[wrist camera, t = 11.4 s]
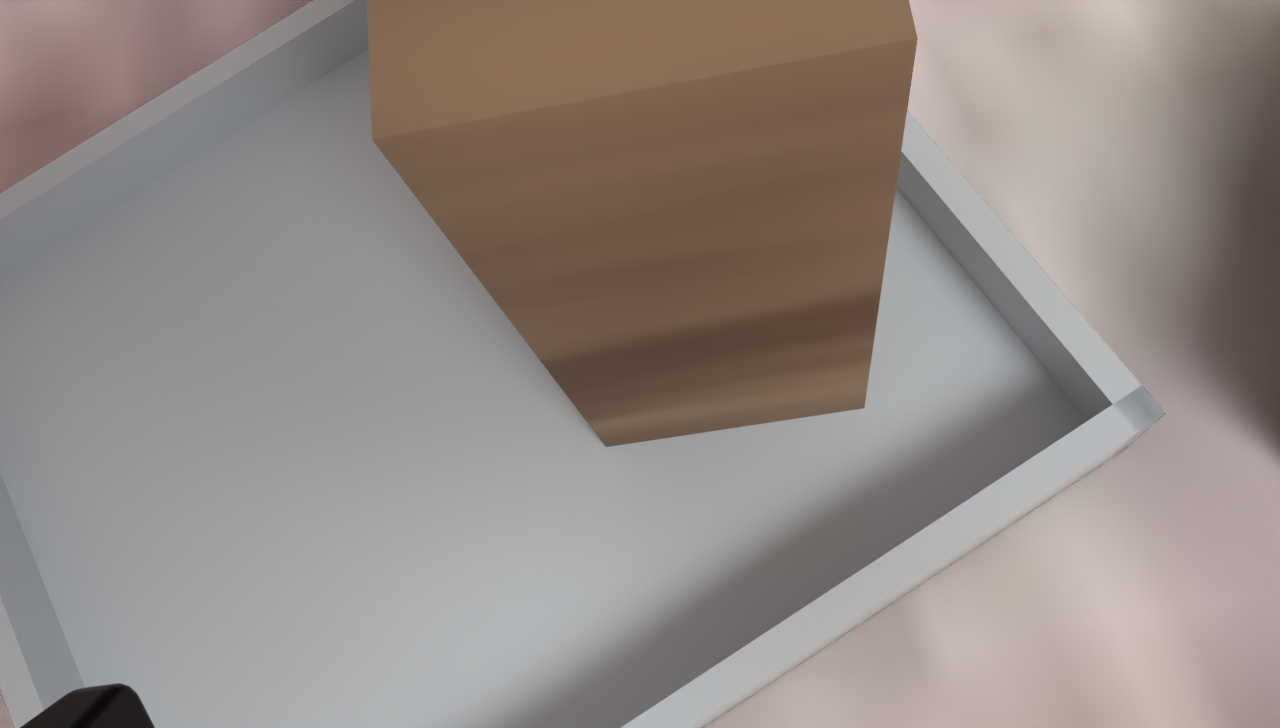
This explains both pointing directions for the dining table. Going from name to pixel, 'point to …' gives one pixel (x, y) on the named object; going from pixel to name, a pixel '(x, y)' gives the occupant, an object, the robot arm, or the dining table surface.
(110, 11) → the dining table surface
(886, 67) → the walnut block
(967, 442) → the plastic tray
